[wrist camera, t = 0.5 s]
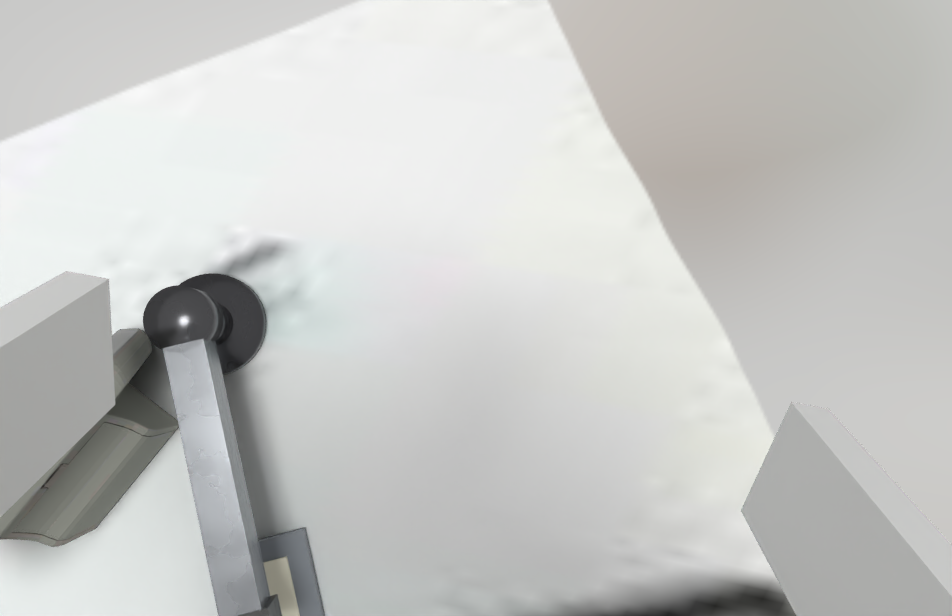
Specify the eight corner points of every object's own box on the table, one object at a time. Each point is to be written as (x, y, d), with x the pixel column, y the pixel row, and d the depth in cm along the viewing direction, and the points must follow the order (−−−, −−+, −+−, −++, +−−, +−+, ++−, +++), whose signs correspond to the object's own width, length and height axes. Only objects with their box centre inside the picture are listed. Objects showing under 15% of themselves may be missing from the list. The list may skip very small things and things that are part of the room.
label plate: (330, 644, 42) (328, 650, 41) (242, 669, 41) (238, 676, 41) (304, 527, 42) (302, 530, 42) (216, 550, 42) (212, 554, 41)
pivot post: (275, 362, 43) (260, 362, 39) (174, 386, 43) (147, 388, 39) (254, 265, 44) (236, 255, 40) (153, 288, 43) (125, 280, 39)
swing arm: (152, 297, 39) (136, 294, 37) (216, 283, 39) (204, 278, 37) (226, 649, 37) (213, 667, 35) (292, 631, 38) (283, 648, 36)
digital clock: (148, 315, 43) (56, 300, 32) (232, 414, 43) (166, 431, 32) (-49, 473, 41) (-215, 512, 31) (38, 577, 41) (-99, 652, 31)
